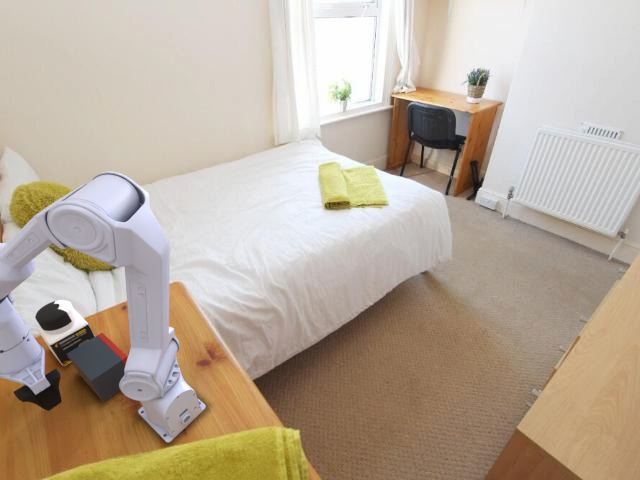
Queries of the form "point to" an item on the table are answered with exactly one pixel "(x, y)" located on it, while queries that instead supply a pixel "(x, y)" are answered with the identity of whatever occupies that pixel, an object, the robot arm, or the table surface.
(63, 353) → the medicine bottle
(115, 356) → the grey and red box
